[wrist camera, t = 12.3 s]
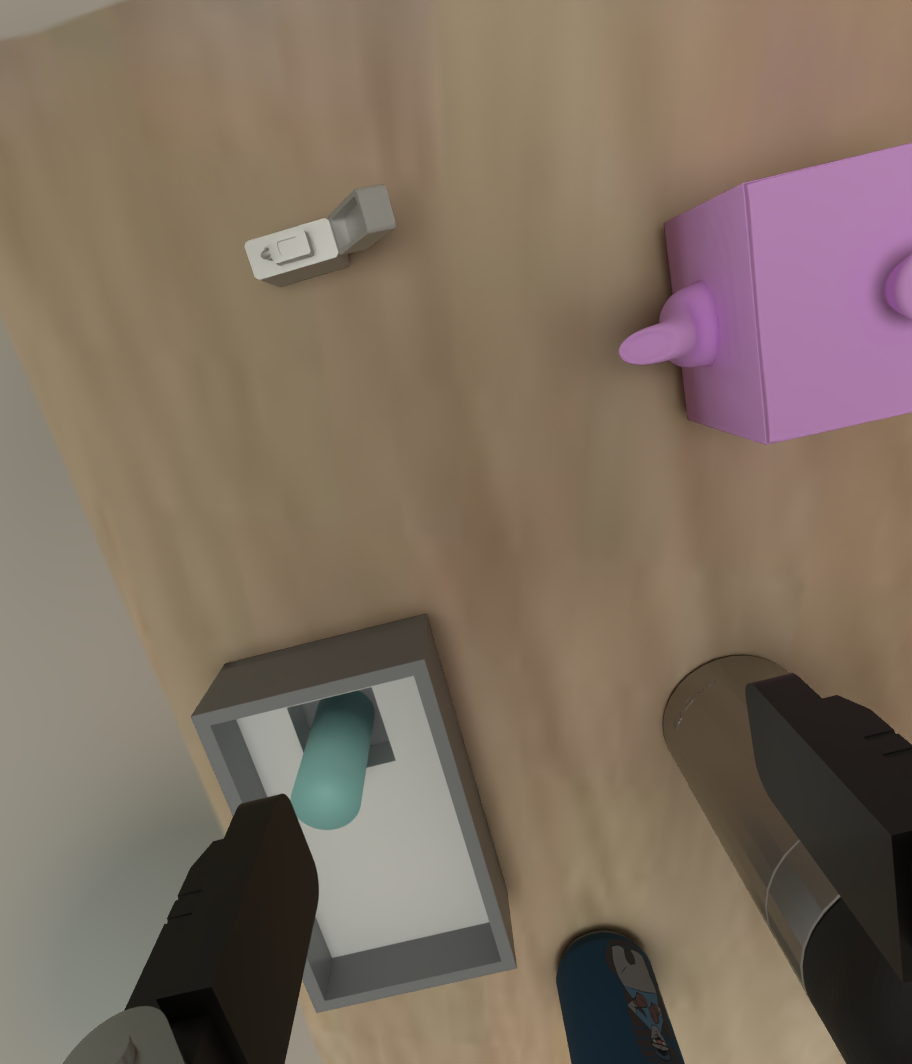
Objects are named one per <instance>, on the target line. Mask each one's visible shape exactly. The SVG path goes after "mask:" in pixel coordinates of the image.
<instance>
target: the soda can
mask: <svg viewBox="0 0 912 1064" xmlns="http://www.w3.org/2000/svg"><path fill="white" fill-rule="evenodd" d="M556 983H557V989H558V994H559V999H560V1005H561V1010H562V1015H563V1021H564V1026H565V1031H566V1036H567V1042H568V1047H569V1052H570V1058H571V1063H572V1064H685V1063H684V1060H683V1057H682V1054H681V1051H680V1048H679V1045H678V1043H677V1040H676V1037H675V1034H674V1031H673V1028H672V1025H671V1022H670V1019H669V1016H668V1013H667V1010H666V1007H665V1004H664V1001H663V998H662V996H661V993H660V990H659V987H658V984H657V981H656V978H655V975H654V972H653V969H652V966H651V963H650V961H649V959H648V957H647V956H646V954H645V953H644V952H643V951H642V950H641V949H640V948H639V947H638V946H637V945H636V944H634V943H633V942H632V941H630V940H629V939H628V938H627V937H625V936H623V935H622V934H619V933H617V932H613V931H604V930H602V931H593V932H590V933H587V934H584V935H582V936H580V937H578V938H577V939H575V940H574V941H573V942H572V943H571V944H570V945H569V946H568V948H567V949H566V951H565V953H564V955H563V957H562V960H561V962H560V964H559V967H558V971H557V976H556Z"/></svg>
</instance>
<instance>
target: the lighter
mask: <svg viewBox="0 0 912 1064" xmlns="http://www.w3.org/2000/svg"><path fill="white" fill-rule="evenodd" d="M395 225H396V222H395V218H394V215H393V211H392V207H391V204H390V200H389V197H388V193H387V189H386V187H385V186H384V184H381V185H376V186H370V187H364V188H359V189H354V190H353V191H352V192H351V193H350V194H349V195H348V196H347V197H346V198H345V200H344V201H343V202H342V203H341V204H340V205H339V206H338V207H337V208H336V209H335V210H334V211H333V212H332V213H331V214H330V215H329V220H327V219H325V218H323V219H320V220H316V221H313V222H310V223H306V224H303V225H300V226H296V227H293V228H290V229H286V230H283V231H280V232H276V233H273V234H270V235H266V236H263V237H260V238H256V239H253V240H250V241H247V242H246V244H245V246H244V247H245V249H246V252H247V255H248V258H249V261H250V264H251V267H252V270H253V273H254V276H255V277H256V278H257V279H259V280H262V281H265V282H267V283H270V284H273V285H276V286H279V287H282V286H285V285H288V284H292V283H295V282H299V281H302V280H305V279H309V278H312V277H316V276H319V275H322V274H326V273H329V272H333V271H336V270H339V269H343V268H346V267H348V266H349V264H350V260H349V256H348V254H349V253H353V252H358V251H363V250H367V249H368V248H369V247H371V246H372V245H373V244H375V243H376V242H377V241H379V240H380V239H381V238H383V237H384V236H385V235H387V234H388V233H389V232H391V231H392V230H393V229H395Z"/></svg>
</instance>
